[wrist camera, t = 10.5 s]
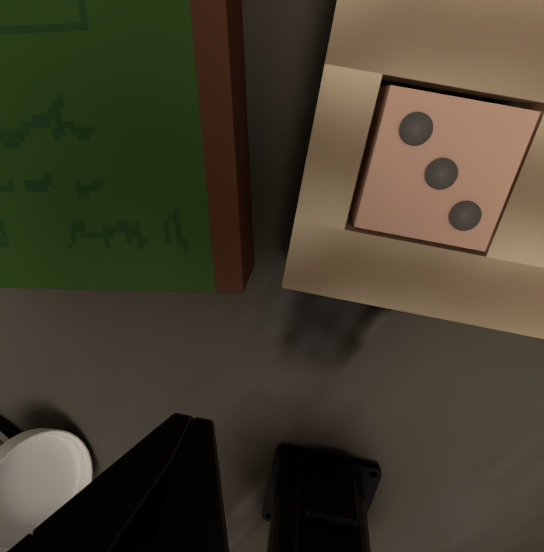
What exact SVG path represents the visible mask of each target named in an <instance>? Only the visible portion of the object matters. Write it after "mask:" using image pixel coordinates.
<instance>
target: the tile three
mask: <svg viewBox="0 0 544 552" xmlns="http://www.w3.org/2000/svg"><path fill="white" fill-rule="evenodd" d="M540 113H541V112H539V111H534V110H528V109H523V108H517V107H511V106H506V105H500V104H495V103H489V102H483V101H478V100H472V99H467V98H461V97H455V96H450V95H444V94H439V93H433V92H427V91H422V90H416V89H411V88H405V87H399V86H394V85H387V86H380V87H379V91H378V95H377V99H376V103H375V107H374V111H373V116H372V120H371V124H370V128H369V132H368V136H367V140H366V144H365V148H364V152H363V156H362V160H361V164H360V168H359V172H358V176H357V181H356V185H355V189H354V193H353V197H352V201H351V205H350V211H351V215H352V219H353V223H354V227H358V228H363V229H368V230H373V231H379V232H384V233H389V234H394V235H400V236H405V237H410V238H416V239H421V240H426V241H431V242H437V243H442V244H447V245H452V246H458V247H463V248H468V249H473V250H479V251H484V252H485V250H486V248H487V245H488V243H489V240H490V238H491V235H492V233H493V230H494V228H495V225H496V223H497V220H498V218H499V215H500V213H501V210H502V208H503V205H504V203H505V200H506V198H507V195H508V193H509V190H510V188H511V185H512V183H513V180H514V178H515V175H516V173H517V170H518V168H519V165H520V163H521V160H522V158H523V155H524V153H525V150H526V148H527V145H528V143H529V140H530V138H531V135H532V133H533V130H534V128H535V125H536V123H537V120H538V118H539V115H540Z"/></svg>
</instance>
